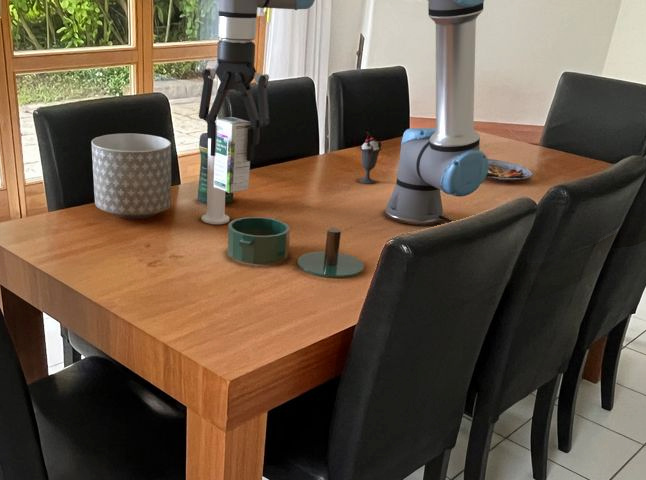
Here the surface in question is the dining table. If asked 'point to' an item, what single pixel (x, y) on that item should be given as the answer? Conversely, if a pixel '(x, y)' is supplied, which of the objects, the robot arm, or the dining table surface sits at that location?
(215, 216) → the white syringe
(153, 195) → the planter
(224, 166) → the syrup box
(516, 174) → the food plate
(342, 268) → the pot lid
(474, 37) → the robot arm
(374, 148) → the sundae
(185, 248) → the dining table surface
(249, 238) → the pot
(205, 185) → the coffee jar
